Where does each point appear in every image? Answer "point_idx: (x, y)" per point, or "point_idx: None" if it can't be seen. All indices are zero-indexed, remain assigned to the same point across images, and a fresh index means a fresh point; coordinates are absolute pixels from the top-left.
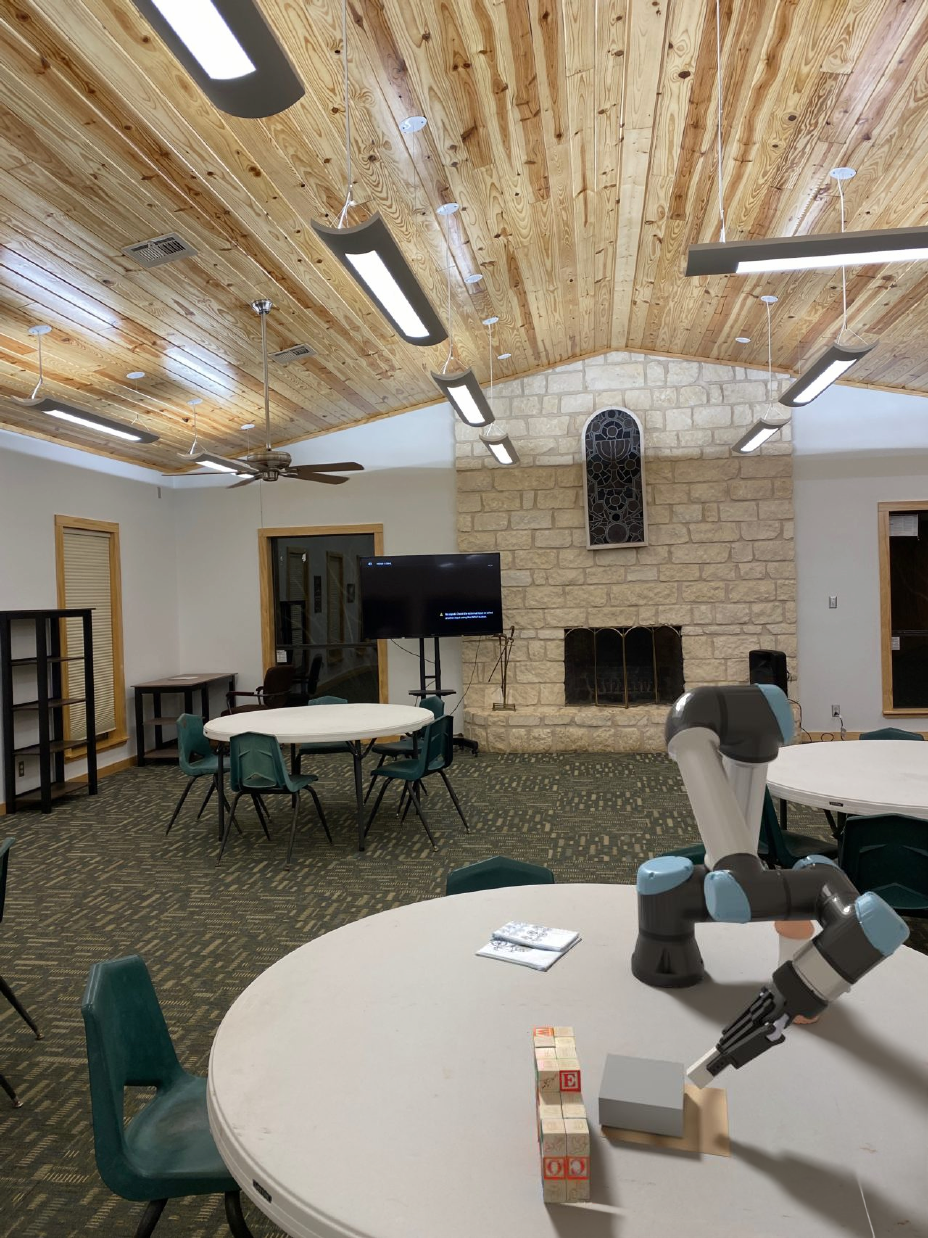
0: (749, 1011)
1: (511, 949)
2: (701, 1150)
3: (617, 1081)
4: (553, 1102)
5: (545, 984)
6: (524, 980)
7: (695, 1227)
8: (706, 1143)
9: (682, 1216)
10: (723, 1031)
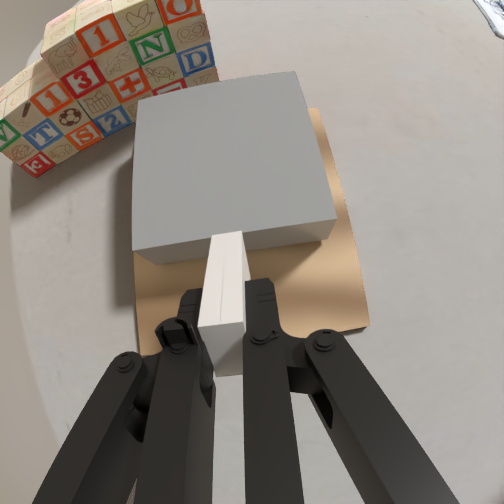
0: (385, 499)
1: (498, 13)
2: (141, 302)
3: (197, 107)
4: (37, 68)
5: (476, 33)
6: (464, 16)
7: (20, 306)
8: (163, 310)
9: (29, 288)
10: (315, 340)
